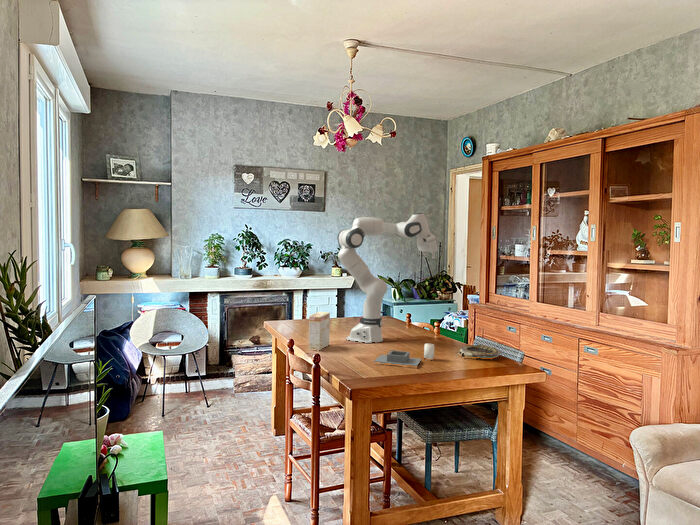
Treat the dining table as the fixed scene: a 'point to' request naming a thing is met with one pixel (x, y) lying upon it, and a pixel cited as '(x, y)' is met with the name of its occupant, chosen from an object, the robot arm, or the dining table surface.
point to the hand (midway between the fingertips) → (430, 257)
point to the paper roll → (429, 351)
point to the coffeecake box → (319, 330)
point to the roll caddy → (398, 358)
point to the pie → (480, 351)
